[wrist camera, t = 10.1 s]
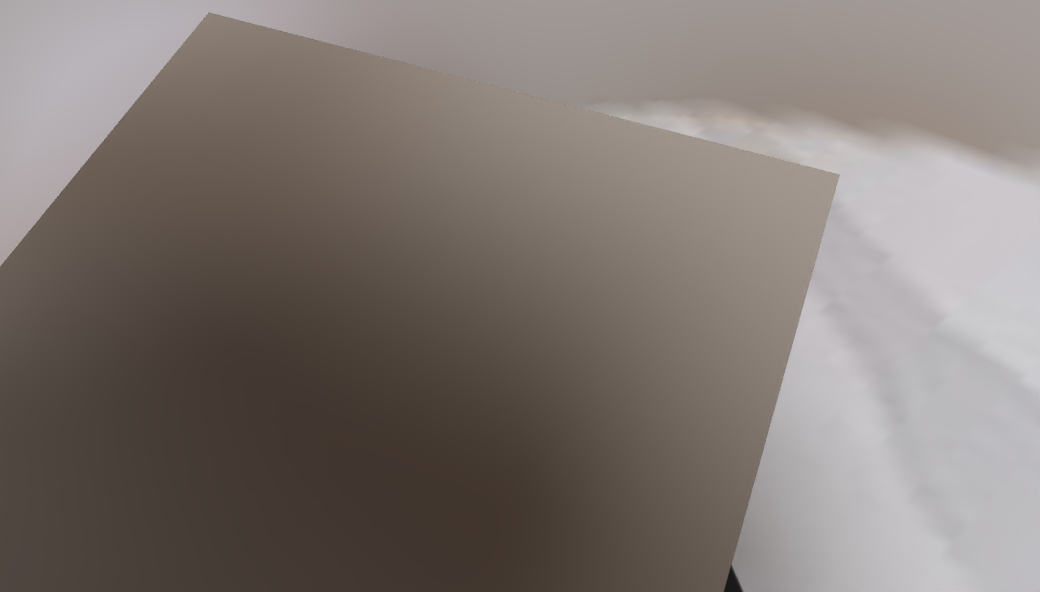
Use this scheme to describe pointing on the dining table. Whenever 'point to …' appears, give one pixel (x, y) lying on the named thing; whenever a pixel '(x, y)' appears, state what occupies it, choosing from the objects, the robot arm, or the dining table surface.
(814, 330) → the dining table surface
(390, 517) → the lidded square box
